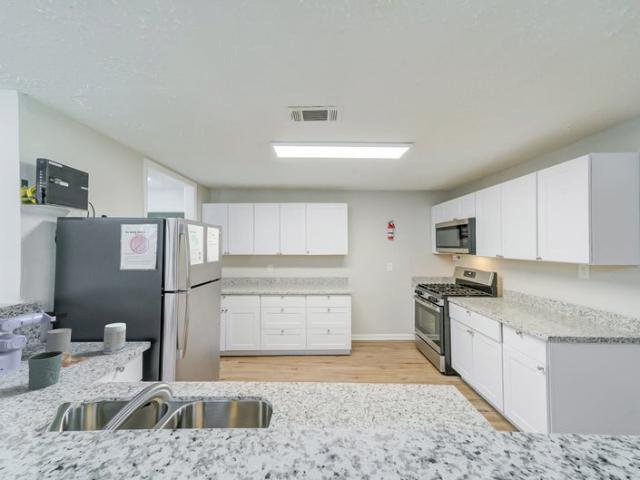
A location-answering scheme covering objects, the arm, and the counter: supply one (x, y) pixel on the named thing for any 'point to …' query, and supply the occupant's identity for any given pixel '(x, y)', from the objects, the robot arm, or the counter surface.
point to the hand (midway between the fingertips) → (61, 314)
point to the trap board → (75, 360)
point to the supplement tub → (114, 338)
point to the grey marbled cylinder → (58, 340)
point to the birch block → (66, 358)
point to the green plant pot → (44, 369)
